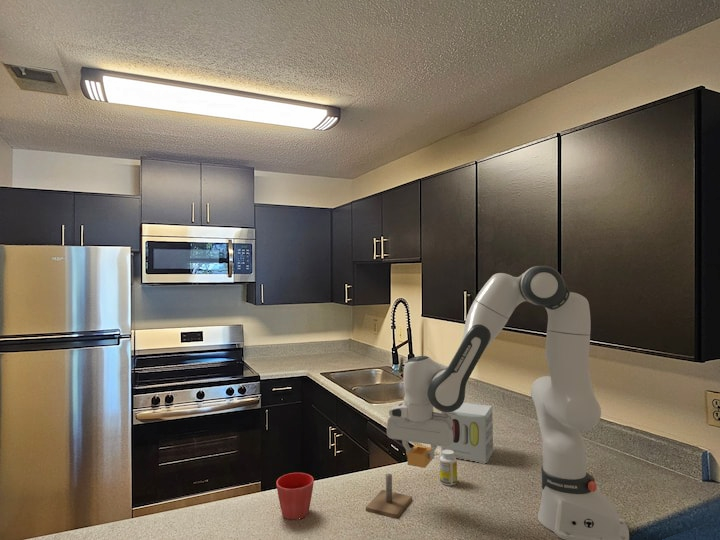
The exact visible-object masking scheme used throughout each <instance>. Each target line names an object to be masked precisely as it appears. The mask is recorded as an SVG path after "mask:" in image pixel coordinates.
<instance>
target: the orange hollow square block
mask: <svg viewBox="0 0 720 540" xmlns="http://www.w3.org/2000/svg"><path fill="white" fill-rule="evenodd" d="M411 448H412V449H411V450H410V451H409V452H408V453H407V465H408V466H412V467H415V468H416V467H417V468H422V469H426V468H427V466H428V465H429V464H430V462H432V461H433V459H428V452H429V451H432V449H433V448H431V446H423V445H418V444H417V445H416V444H415V445H413V447H411Z"/></svg>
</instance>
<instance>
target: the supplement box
mask: <svg viewBox="0 0 720 540" xmlns="http://www.w3.org/2000/svg"><path fill="white" fill-rule="evenodd" d="M440 413H442V414H443V413H445V414H448V415H449V416H450V417H451V418H452V420H453V427H452V431H453V443H452V444H451V445H450V446H449V447H444V446H440V447H441V455H442V451H443V450H452V451H454V457H456V458H459V459H458V460H461V459H464V460H463V461H466V460H470V461H469V462H472V461H475V462H474V463H477V462H479V463H478V464H482V463H487V464H488V462H487V461H490V459H489V458H491V457H492V455H493V454H492V453H494V432H493V431H494V429H493V428H494V426H493V423H494V422H493V420H494V419H493V406H492V405H488V404H480V403H471V402H465V401H464V402H463V404H462V405H461V407H460V408H459V409H457V410H455V411H453V412H442V411H440ZM448 418H449V417H448ZM491 454H492V455H491ZM441 455H440V456H441ZM490 456H491V457H490Z"/></svg>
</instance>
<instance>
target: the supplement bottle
mask: <svg viewBox="0 0 720 540" xmlns="http://www.w3.org/2000/svg"><path fill="white" fill-rule="evenodd" d="M457 462H458V459H456V457H454V451H452V450H443V451H442V456H441V455H440V457H439V477H440V478H439V481H440V483H441V484H443V485H444V486H455V485H456V484H457V483H458V468H457V467H458V464H457Z"/></svg>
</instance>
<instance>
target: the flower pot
mask: <svg viewBox="0 0 720 540" xmlns="http://www.w3.org/2000/svg"><path fill="white" fill-rule="evenodd" d="M314 480H315V479H314V477H313V476H312V475H310V474H308V473H305V472H292V473H291V472H290V473H287V474H283V475H282V476H280V477H278V479H277V480H276V483H275V484H276V490H277V495H278V501H279V506H280V511H281V515H282V517H283V516H284V517H285V519H286V518H288V519H287V520H289V519H298V520H300V519H299V518H302V517H304V516H305V517H306V515H308V514H309V513H308V512H310V508H311V501H312V495H313V488H314V484H315V483H314ZM284 517H283V518H284ZM305 517H304V518H305ZM302 519H303V518H302Z"/></svg>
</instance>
